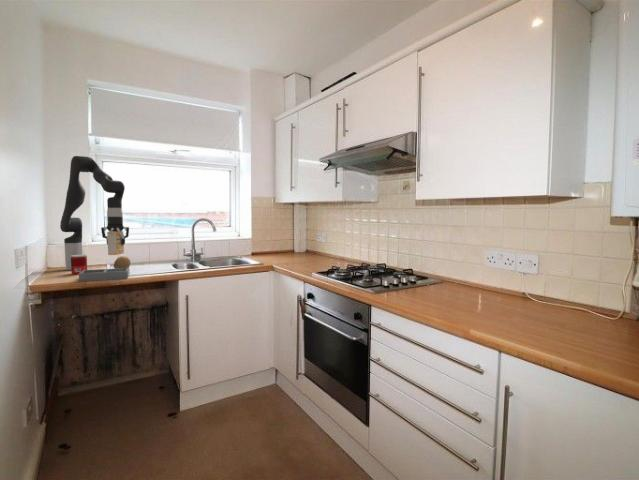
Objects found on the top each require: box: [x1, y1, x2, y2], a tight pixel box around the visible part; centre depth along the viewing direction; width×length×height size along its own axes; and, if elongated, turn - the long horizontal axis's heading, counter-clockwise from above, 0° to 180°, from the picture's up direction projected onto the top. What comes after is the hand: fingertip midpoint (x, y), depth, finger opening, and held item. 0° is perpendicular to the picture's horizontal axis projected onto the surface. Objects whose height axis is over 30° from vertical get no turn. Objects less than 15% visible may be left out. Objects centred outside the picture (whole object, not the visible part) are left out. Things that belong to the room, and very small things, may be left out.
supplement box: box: [106, 230, 125, 256], centre depth 200 cm, size 8×5×13 cm, turn 179°
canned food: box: [70, 254, 88, 276], centre depth 212 cm, size 8×8×11 cm
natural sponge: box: [113, 256, 131, 269], centre depth 217 cm, size 9×9×10 cm
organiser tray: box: [78, 267, 130, 282], centre depth 199 cm, size 13×23×4 cm, turn 115°
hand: (116, 245), depth 201 cm, fingers closed on supplement box, 6 cm apart
